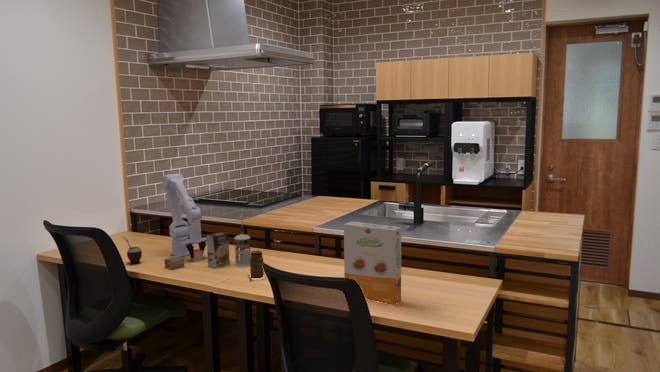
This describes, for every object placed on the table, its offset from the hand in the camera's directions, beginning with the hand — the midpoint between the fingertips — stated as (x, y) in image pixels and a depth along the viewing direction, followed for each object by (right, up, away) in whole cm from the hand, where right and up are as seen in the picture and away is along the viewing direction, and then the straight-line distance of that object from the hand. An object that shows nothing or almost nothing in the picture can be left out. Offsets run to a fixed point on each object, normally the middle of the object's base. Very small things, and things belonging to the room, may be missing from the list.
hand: (196, 257), depth 268 cm
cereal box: (+87, -9, -60) cm, 106 cm away
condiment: (+36, -5, -31) cm, 48 cm away
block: (0, -1, 0) cm, 2 cm away
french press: (+25, -2, -9) cm, 27 cm away
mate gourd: (-31, -3, -4) cm, 31 cm away
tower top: (-8, -1, -13) cm, 15 cm away
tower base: (-8, -4, -12) cm, 15 cm away
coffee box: (+14, -3, -10) cm, 18 cm away
